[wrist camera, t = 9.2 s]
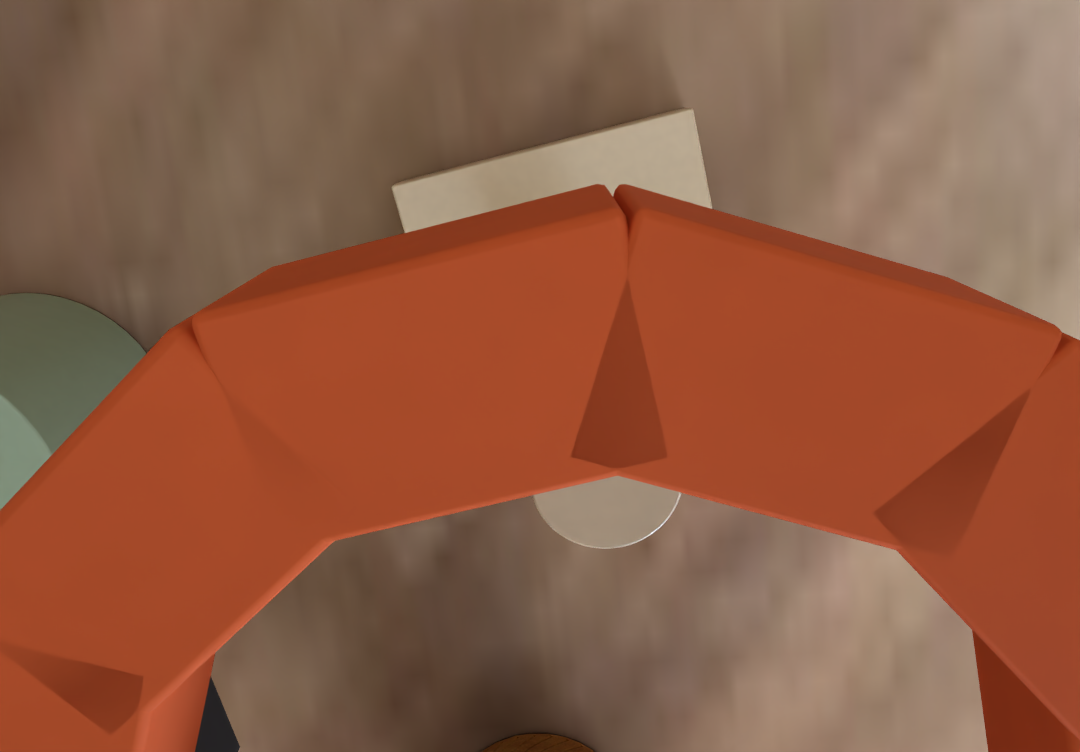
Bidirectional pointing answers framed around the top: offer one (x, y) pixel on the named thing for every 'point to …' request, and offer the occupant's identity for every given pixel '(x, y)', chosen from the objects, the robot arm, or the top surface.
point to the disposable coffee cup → (538, 744)
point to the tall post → (592, 158)
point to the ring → (545, 442)
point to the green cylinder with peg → (52, 377)
